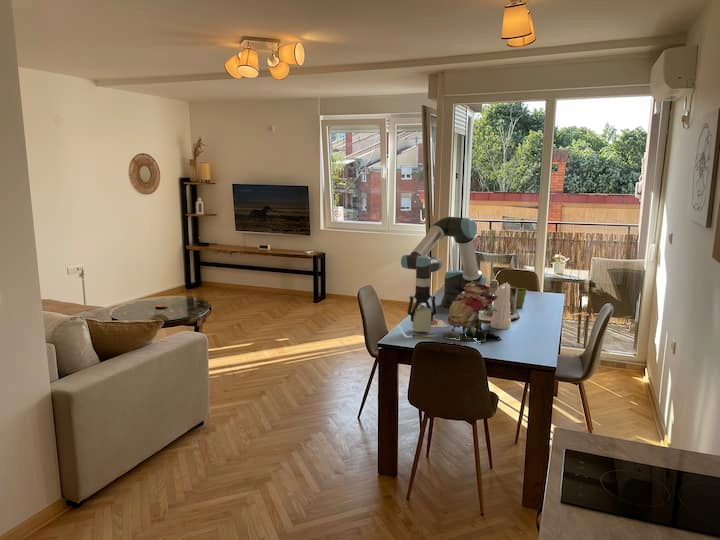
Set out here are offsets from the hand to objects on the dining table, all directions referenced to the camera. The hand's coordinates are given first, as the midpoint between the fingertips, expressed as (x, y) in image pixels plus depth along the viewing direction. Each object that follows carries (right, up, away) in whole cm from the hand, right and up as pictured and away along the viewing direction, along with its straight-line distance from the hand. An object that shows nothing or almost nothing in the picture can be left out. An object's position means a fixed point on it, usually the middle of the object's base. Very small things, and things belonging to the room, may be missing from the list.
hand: (421, 327), depth 282 cm
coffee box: (+59, +4, +47) cm, 76 cm away
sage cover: (0, -1, 0) cm, 1 cm away
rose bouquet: (+24, -5, -4) cm, 25 cm away
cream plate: (+9, -1, +17) cm, 19 cm away
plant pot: (+69, +6, +60) cm, 92 cm away
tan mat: (0, -4, +1) cm, 4 cm away
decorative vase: (+46, -2, +16) cm, 49 cm away
